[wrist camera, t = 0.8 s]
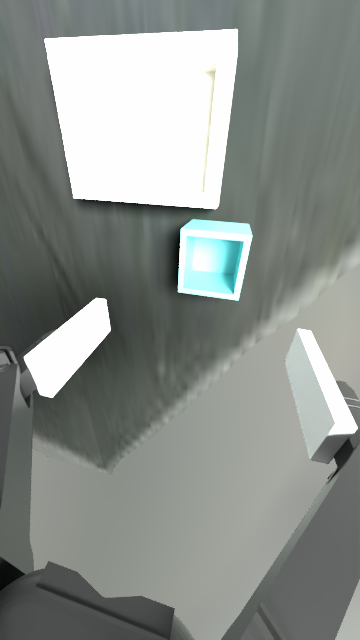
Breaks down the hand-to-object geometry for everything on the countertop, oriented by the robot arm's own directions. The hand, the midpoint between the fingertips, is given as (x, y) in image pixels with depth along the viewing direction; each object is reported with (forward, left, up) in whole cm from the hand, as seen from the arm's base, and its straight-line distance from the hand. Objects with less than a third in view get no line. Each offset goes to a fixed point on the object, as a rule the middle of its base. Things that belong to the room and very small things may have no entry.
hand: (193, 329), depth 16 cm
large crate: (-10, +13, -22) cm, 27 cm away
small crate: (0, 0, -22) cm, 22 cm away
